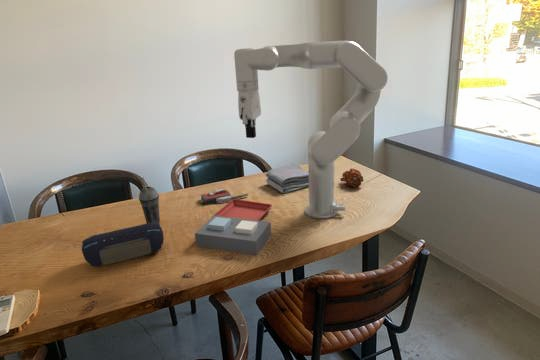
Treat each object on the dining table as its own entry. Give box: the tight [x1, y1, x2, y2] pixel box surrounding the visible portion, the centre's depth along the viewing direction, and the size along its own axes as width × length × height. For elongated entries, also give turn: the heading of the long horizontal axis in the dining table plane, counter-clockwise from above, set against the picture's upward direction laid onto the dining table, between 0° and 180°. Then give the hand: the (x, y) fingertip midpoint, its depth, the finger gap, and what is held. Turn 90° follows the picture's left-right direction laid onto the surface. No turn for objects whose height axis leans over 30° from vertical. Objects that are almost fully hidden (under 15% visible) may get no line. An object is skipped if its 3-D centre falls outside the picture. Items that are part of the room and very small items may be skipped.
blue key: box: [208, 217, 231, 231], centre depth 138 cm, size 6×6×5 cm
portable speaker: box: [81, 223, 165, 268], centre depth 129 cm, size 25×10×10 cm, turn 114°
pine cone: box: [339, 167, 364, 188], centre depth 178 cm, size 8×8×12 cm
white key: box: [235, 220, 258, 235], centre depth 135 cm, size 6×6×5 cm
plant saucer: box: [210, 198, 273, 221], centre depth 154 cm, size 18×18×3 cm
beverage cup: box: [138, 176, 161, 225], centre depth 148 cm, size 7×7×20 cm
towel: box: [265, 162, 309, 194], centre depth 182 cm, size 15×18×8 cm
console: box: [194, 214, 272, 256], centre depth 137 cm, size 22×14×5 cm, turn 70°
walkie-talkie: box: [200, 188, 249, 206], centre depth 172 cm, size 9×4×20 cm
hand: (251, 137), depth 145 cm, fingers closed
